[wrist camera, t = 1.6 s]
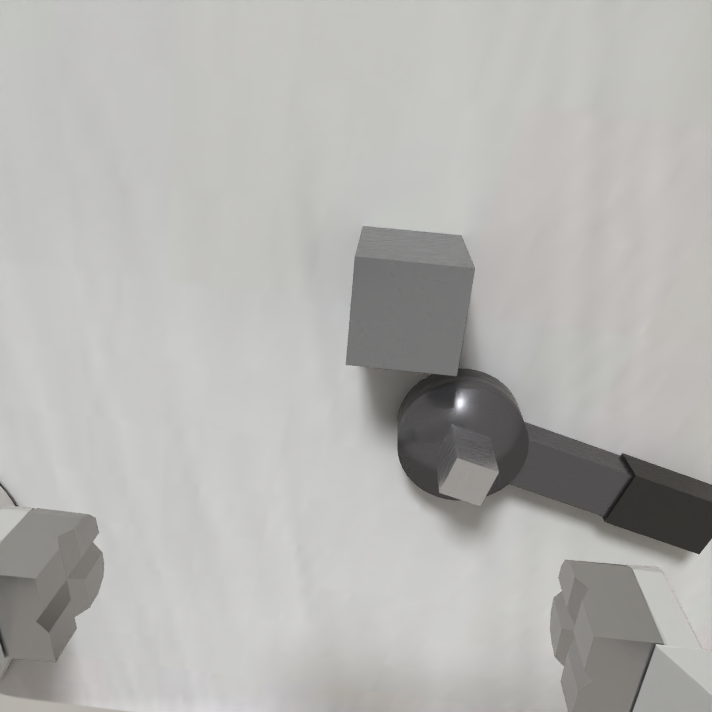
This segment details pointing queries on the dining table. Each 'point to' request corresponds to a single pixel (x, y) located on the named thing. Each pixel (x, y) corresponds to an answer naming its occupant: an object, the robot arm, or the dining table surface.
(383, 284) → the plain grey cube block
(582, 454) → the ratchet
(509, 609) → the dining table surface
